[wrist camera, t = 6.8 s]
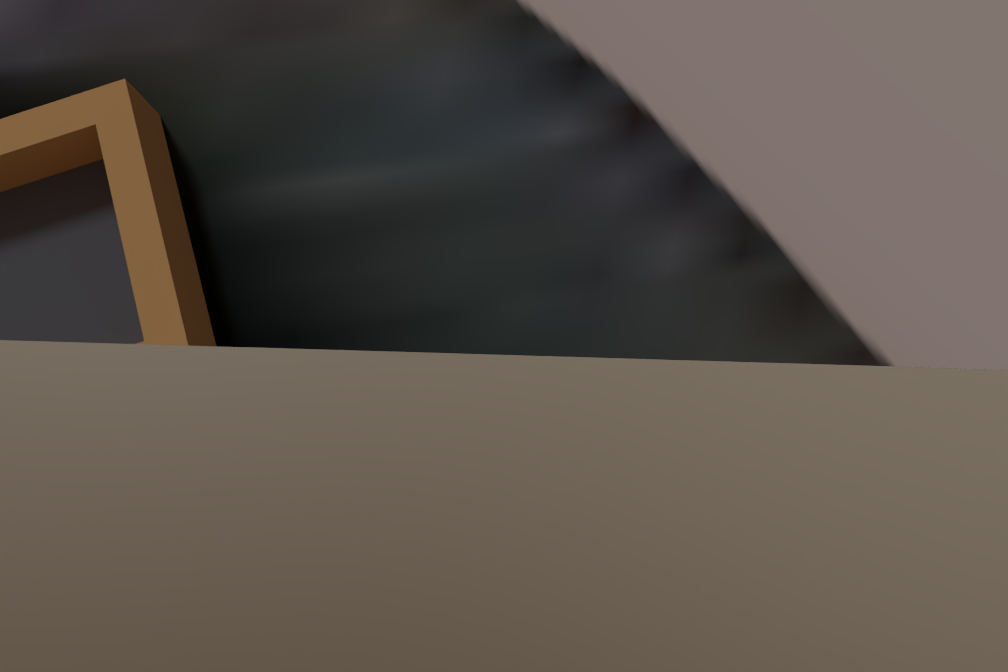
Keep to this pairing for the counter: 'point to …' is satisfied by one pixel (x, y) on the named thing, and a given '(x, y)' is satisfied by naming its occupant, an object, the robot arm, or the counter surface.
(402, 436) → the beech block
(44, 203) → the trap tray
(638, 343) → the counter surface
